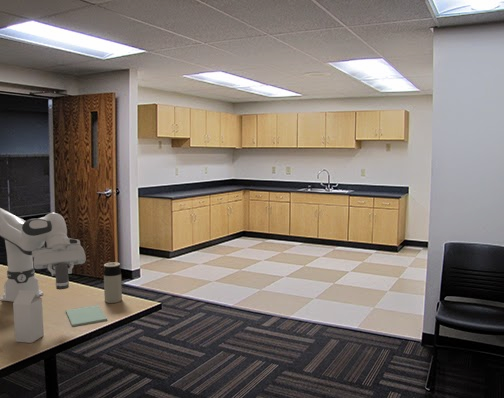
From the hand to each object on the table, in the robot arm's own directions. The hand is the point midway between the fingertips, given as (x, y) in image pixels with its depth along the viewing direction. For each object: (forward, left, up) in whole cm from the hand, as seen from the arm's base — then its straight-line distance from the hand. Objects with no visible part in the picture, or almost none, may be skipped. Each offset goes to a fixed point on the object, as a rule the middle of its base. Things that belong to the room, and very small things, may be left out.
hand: (61, 273), depth 189 cm
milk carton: (+10, -14, -22) cm, 27 cm away
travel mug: (-20, +24, -22) cm, 38 cm away
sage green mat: (-5, +9, -21) cm, 24 cm away
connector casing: (0, 0, -6) cm, 6 cm away
